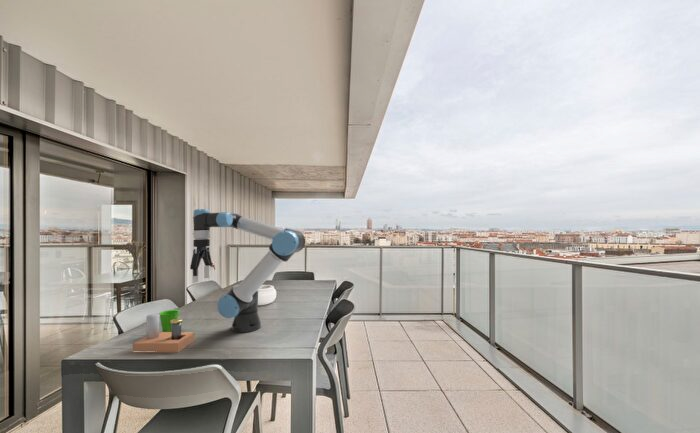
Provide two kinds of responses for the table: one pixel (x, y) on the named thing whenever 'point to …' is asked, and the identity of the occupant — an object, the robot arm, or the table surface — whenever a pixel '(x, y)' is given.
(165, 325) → the cup
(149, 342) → the peach square-hole plate
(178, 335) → the pin
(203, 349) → the table surface
